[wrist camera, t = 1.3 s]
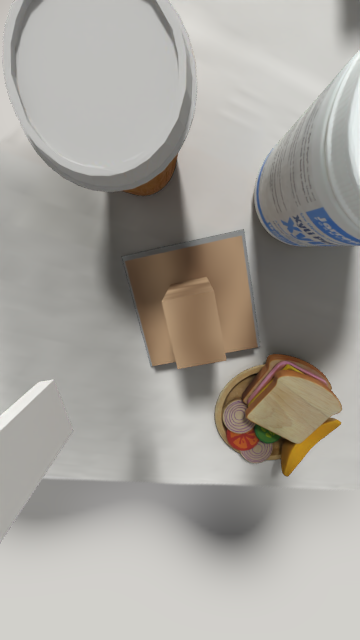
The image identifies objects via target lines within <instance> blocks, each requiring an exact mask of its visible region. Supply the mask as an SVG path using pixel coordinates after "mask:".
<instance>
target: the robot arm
mask: <svg viewBox="0 0 360 640" xmlns="http://www.w3.org/2000/svg"><path fill="white" fill-rule="evenodd" d="M72 432H73V428H72V425H71V423H70V420H69V417H68V415H67V412H66V409H65V407H64V404H63V401H62V399H61V396H60V393H59V391H58V388H57V385H56V383H55V380H48V381H42V382H38V383H37V384H36V385H35V386H34V387H32V388H31V389H30V390H29V391H28V392H27V393H26V394H24V395H23V396H22V397H21V398H20V399H19V400H18V401H16V402H15V403H14V404H13V405H12V406H11V407H10V408H8V409H7V410H6V411H5V412H4V413H3V414H2V415H0V543H1V541H2V540H3V538H4V537H5V535H6V534H7V532H8V530H9V529H10V527H11V526H12V524H13V523H14V521H15V520H16V518H17V516H18V515H19V514H20V512H21V510H22V509H23V507H24V506H25V504H26V503H27V501H28V500H29V498H30V497H31V495H32V494H33V492H34V491H35V489H36V488H37V486H38V484H39V483H40V481H41V480H42V478H43V477H44V475H45V474H46V472H47V471H48V469H49V468H50V466H51V465H52V463H53V461H54V460H55V458H56V457H57V455H58V454H59V452H60V451H61V449H62V448H63V446H64V445H65V443H66V442H67V440H68V438H69V437H70V435H71V434H72Z"/></svg>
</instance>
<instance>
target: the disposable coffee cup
mask: <svg viewBox="0 0 360 640" xmlns="http://www.w3.org/2000/svg"><path fill="white" fill-rule="evenodd" d="M2 57H3V58H2V63H3V71H4V78H5V84H6V88H7V92H8V95H9V99H10V101H11V104H12V106H13V109H14V111H15V114H16V116H17V118H18V120H19V121H20V124H21V127H22V129H23V130H24V132H25V134H26V136H27V138H28V140H29V142H30V143H31V145H32V146H33V148H34V149H35V151H36V152H37V154H38V155H39V156H40V157H41V158H42V159H43V160H44V161H45V163H46V164H47V165H48V166H50V167H51V168H52V169H53V170H54V171H55V172H57V173H58V174H59V175H61V176H62V177H63V178H65V179H67V180H69V181H71V182H73V183H75V184H76V185H78V186H81V187H84V188H87V189H90V190H96V191H103V192H116V191H123V192H127V193H131V194H134V195H140V196H145V195H151V194H154V193H156V192H158V191H159V190H161V189H162V188H163V187H164V186H165V185H166V184H167V183H168V182H169V180H170V179H171V177H172V174H173V172H174V169H175V165H176V160H177V156H178V152H179V150H180V149H181V147H182V145H183V143H184V141H185V139H186V137H187V134H188V132H189V129H190V126H191V123H192V120H193V116H194V112H195V105H196V96H197V75H196V62H195V58H194V54H193V50H192V46H191V43H190V39H189V35H188V33H187V31H186V29H185V27H184V25H183V23H182V20H181V18H180V16H179V14H178V13H177V12H176V10H175V9H174V7H173V6H172V4H171V3H170V2H169V0H14V1H13V3H12V5H11V7H10V11H9V14H8V17H7V21H6V24H5V29H4V36H3V55H2Z"/></svg>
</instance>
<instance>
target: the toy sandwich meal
mask: <svg viewBox="0 0 360 640" xmlns="http://www.w3.org/2000/svg"><path fill="white" fill-rule="evenodd" d="M331 389H332V387H331V384H330V383H329V381H328V379H327V378H326V376H325V375H324V374H323V373H322V372H321V371H320V370H318V369H317V368H316V367H314V366H313V365H311V364H309V363H308V362H305V361H303V360H301V359H298V358H295V357H292V356H288V355H282V354H272V355H269V356H268V357H267V360H266V364H263V365H259V366H255V367H252V368H249V369H247V370H245V371H243V372H241V373H240V374H238V375H237V376H235V377H234V378H233V379H232V380H231V381H230V382H229V383H228V384H227V385H226V386H225V387H224V389H223V390H222V392H221V393H220V395H219V398H218V400H217V403H216V407H215V422H216V426H217V429H218V432H219V434H220V436H221V437H222V439H223V440H224V441H225V442H226V443H227V444H228V445H229V446H230V447H231V448H232V449H233V450H235V451H236V452H238V453H240V454H241V455H242V456H243V457H244V458H245V459H246V460H247V461H249V462H251V463H261V462H263V461H265V460H276V459H281V467H282V473H283V474H284V475H285V476H287V477H288V476H289V475H290V474H291V473H292V471H293V470H294V469H295V467H296V466H297V465H298V464H299V463H300V462H301V460H302V459H303V458H304V457H305V455H306V454H307V453H308V452H309V450H310V449H311V448H312V447H313V446H314V445H315V444H316V443H317V442H319V441H320V440H321V439H322V438H324V437H325V436H327V435H328V434H329V433H330V432H332V431H333V430H334V429H336V428H337V427H338V426H339V425H340V424H341V422H340V421H339V420H337V419H334V418H330V417H331V416H332V415H335V414H337V413H339V412H340V411H341V410H342V406H341V403H340V401H339V400H338V398H337V397H336V396H335V394H334V393H333V392H332V391H331Z"/></svg>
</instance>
